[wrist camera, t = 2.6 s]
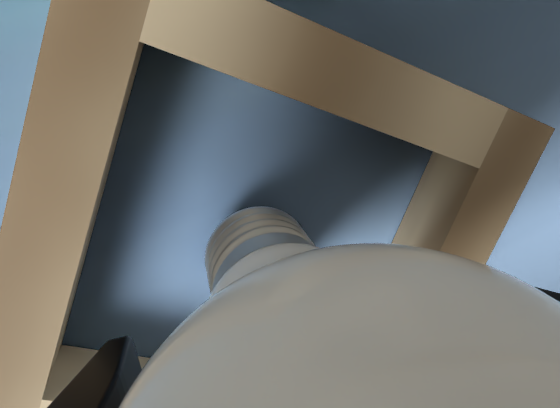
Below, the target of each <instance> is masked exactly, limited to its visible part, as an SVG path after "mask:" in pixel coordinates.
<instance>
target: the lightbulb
mask: <svg viewBox="0 0 560 408" xmlns="http://www.w3.org/2000/svg"><path fill="white" fill-rule="evenodd" d="M205 267H206V272H207V277H208V281H209V288H210V293H211V295H210V297H209V299H208V300H207V301H205V302H204V303H203V304H201V305H200V306H199V307H198V308H197V309H196V310H194V311H193V312H192V313H191V314H190V315H189V316H188V317H187V318H186V319H185V320H184V321H183V322H182V323H180V325H179V326H178V327H177V328H176V329H175V330H174V331H173V332H172V333H171V334H170V335H169V336H168V337H167V338H166V340H165V341H164V342H163V343H162V344H161V345H160V346H159V348H158V349H157V350H156V351H155V353H154V354H153V355H152V356H151V358H150V359H149V360H148V362H147V363H146V364H145V366H144V367H143V368H142V370H141V371H140V373H139V374H138V376H137V377H136V379H135V380H134V382H133V383H132V385H131V386H130V388H129V390H128V391H127V393H126V395H125V396H124V398H123V400H122V401H121V403H120V405H119V407H118V408H560V302H559V301H557V300H556V299H554V298H552V297H551V296H549V295H547V294H546V293H544V292H542V291H540V290H539V289H537V288H535V287H533V286H531V285H530V284H528V283H526V282H524V281H522V280H520V279H518V278H516V277H513V276H511V275H509V274H507V273H505V272H503V271H500V270H498V269H495V268H493V267H490V266H488V265H485V264H483V263H480V262H477V261H474V260H471V259H468V258H465V257H462V256H459V255H455V254H451V253H447V252H443V251H439V250H434V249H429V248H424V247H418V246H411V245H402V244H389V243H356V244H344V245H335V246H328V247H323V248H319V247H316V246H315V245H314V243H313V242H312V241H311V240H310V238H309V237H308V235H307V234H306V233H305V231H304V230H303V229H302V228H301V226H300V225H299V223H298V222H297V221H296V220H295V219H294V218H293V217H292V216H290V215H289V214H287V213H286V212H284V211H281V210H279V209H276V208H272V207H265V206H256V207H249V208H245V209H242V210H239V211H237V212H235V213H233V214H231V215H230V216H228V217H227V218H226V219H224V220H223V221H222V222H221V223H220V224H219V225H218V226H217V227H216V229H215V230H214V231H213V233H212V235H211V236H210V238H209V241H208V243H207V246H206V251H205Z"/></svg>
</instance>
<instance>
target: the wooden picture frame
mask: <svg viewBox="0 0 560 408" xmlns="http://www.w3.org/2000/svg"><path fill="white" fill-rule="evenodd" d="M144 43H145V44H147V45H150V46H153V47H155V48H158V49H161V50H163V51H166V52H169V53H171V54H174V55H177V56H179V57H182V58H185V59H187V60H190V61H193V62H195V63H198V64H201V65H203V66H206V67H209V68H212V69H214V70H217V71H220V72H222V73H225V74H228V75H230V76H233V77H236V78H238V79H241V80H244V81H246V82H249V83H252V84H254V85H257V86H260V87H262V88H265V89H268V90H270V91H273V92H276V93H278V94H281V95H284V96H286V97H289V98H292V99H294V100H297V101H300V102H303V103H305V104H308V105H311V106H313V107H316V108H319V109H321V110H324V111H327V112H329V113H332V114H335V115H337V116H340V117H343V118H345V119H348V120H351V121H353V122H356V123H359V124H361V125H364V126H367V127H369V128H372V129H375V130H377V131H380V132H383V133H385V134H388V135H391V136H393V137H396V138H399V139H402V140H404V141H407V142H410V143H412V144H415V145H418V146H420V147H423V148H426V149H428V150H431V151H433V153H432V155H431V157H430V159H429V162H428V164H427V166H426V168H425V170H424V173H423V175H422V177H421V179H420V181H419V184H418V186H417V188H416V190H415V193H414V195H413V197H412V199H411V201H410V204H409V206H408V208H407V210H406V212H405V215H404V217H403V219H402V221H401V224H400V226H399V228H398V230H397V232H396V235H395V237H394V239H393V241H392V243H391V244H402V245H411V246H418V247H424V248H429V249H434V250H439V251H443V252H447V253H451V254H455V255H459V256H462V257H465V258H468V259H471V260H474V261H477V262H480V263H483V264H486V262H487V260H488V258H489V256H490V254H491V252H492V250H493V249H494V247H495V245H496V243H497V241H498V239H499V237H500V235H501V233H502V231H503V229H504V227H505V225H506V223H507V221H508V219H509V217H510V215H511V213H512V212H513V210H514V208H515V206H516V204H517V202H518V200H519V198H520V196H521V194H522V192H523V190H524V188H525V186H526V184H527V182H528V180H529V178H530V176H531V174H532V173H533V171H534V169H535V167H536V165H537V163H538V161H539V159H540V157H541V155H542V153H543V151H544V149H545V147H546V145H547V143H548V141H549V139H550V137H551V136H552V134H553V132H554V130H555V128H553V127H550V126H548V125H546V124H544V123H541V122H539V121H537V120H534V119H532V118H530V117H528V116H525V115H523V114H521V113H519V112H516V111H514V110H512V109H510V108H507V107H505V106H503V105H501V104H498V103H496V102H494V101H492V100H489V99H487V98H485V97H482V96H480V95H478V94H476V93H473V92H471V91H469V90H467V89H464V88H462V87H460V86H458V85H455V84H453V83H451V82H449V81H446V80H444V79H442V78H440V77H437V76H435V75H433V74H431V73H428V72H426V71H424V70H421V69H419V68H417V67H415V66H412V65H410V64H408V63H406V62H403V61H401V60H399V59H397V58H394V57H392V56H390V55H388V54H385V53H383V52H381V51H379V50H376V49H374V48H372V47H370V46H367V45H365V44H363V43H360V42H358V41H356V40H354V39H351V38H349V37H347V36H345V35H342V34H340V33H338V32H336V31H333V30H331V29H329V28H327V27H324V26H322V25H320V24H318V23H315V22H313V21H311V20H308V19H306V18H304V17H302V16H299V15H297V14H295V13H293V12H290V11H288V10H286V9H284V8H281V7H279V6H277V5H275V4H272V3H270V2H268V1H266V0H51V3H50V8H49V13H48V17H47V22H46V26H45V31H44V35H43V40H42V44H41V49H40V53H39V58H38V62H37V67H36V72H35V76H34V81H33V85H32V90H31V94H30V99H29V103H28V108H27V112H26V117H25V121H24V126H23V131H22V135H21V140H20V144H19V149H18V153H17V158H16V162H15V167H14V171H13V176H12V180H11V185H10V190H9V194H8V199H7V203H6V208H5V212H4V217H3V221H2V226H1V230H0V408H47V407H48V406H49V405H50V404H51V402H52V401H53V400H54V399H55V398H56V397H57V396H58V395H59V394H60V393H61V391H62V390H63V389H64V388H65V387H66V386H67V385H68V384H69V383H70V381H71V380H72V379H73V378H74V377H75V376H76V375H77V374H78V373H79V372H80V370H81V369H82V368H83V367H84V366H85V365H86V364H87V363H88V362H89V361H90V359H91V358H92V357H93V356H94V355H95V354H96V353H97V352H98V351H99V350H94V349H87V348H80V347H74V346H67V345H61V344H62V341H63V337H64V333H65V330H66V326H67V322H68V319H69V315H70V311H71V308H72V304H73V301H74V297H75V293H76V290H77V286H78V282H79V279H80V275H81V271H82V268H83V264H84V260H85V257H86V253H87V249H88V246H89V242H90V239H91V235H92V231H93V228H94V224H95V220H96V217H97V213H98V209H99V206H100V202H101V198H102V195H103V191H104V187H105V184H106V180H107V177H108V173H109V169H110V166H111V162H112V158H113V155H114V151H115V147H116V144H117V140H118V136H119V133H120V129H121V125H122V122H123V118H124V114H125V111H126V107H127V104H128V100H129V96H130V93H131V89H132V85H133V82H134V78H135V74H136V71H137V67H138V63H139V60H140V56H141V52H142V49H143V45H144ZM138 359H139V362H140V365H141V369H142V368H143V367H144V366H145V364H146V363H147V362H148V360H149V359H150V358H147V357H140V356H138Z"/></svg>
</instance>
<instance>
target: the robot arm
mask: <svg viewBox="0 0 560 408" xmlns="http://www.w3.org/2000/svg"><path fill="white" fill-rule="evenodd" d="M535 288H537V287H535ZM537 289H539V290H540V291H542V292H544V293H546V294H547V295H549V296H551V297H552V298H554V299H556V300H557V301H559V302H560V293H556V292H552V291H548V290H545V289H541V288H537ZM141 370H142V369H141V365H140V362H139V359H138V355H137V352H136V349H135V345H134V342H133V340H132V338H131V337H130V336H124V337H119V338H115V339H111V340H108V341H107V342H106V343H105V344H104V345H103V346H102V347H101V348H100V349H99V351H98V352H97V353H96V354H95V355H94V356H93V357H92V358H91V359H90V361H89V362H88V363H87V364H86V365H85V366H84V367H83V368H82V369H81V370H80V372H79V373H78V374H77V375H76V376H75V377H74V378H73V379H72V380H71V381H70V383H69V384H68V385H67V386H66V387H65V388H64V389H63V390H62V391H61V393H60V394H59V395H58V396H57V397H56V398H55V399H54V400H53V401H52V402H51V404H50V405H49V406H48V407H47V408H118V407H119V405H120V403H121V401H122V400H123V398H124V396H125V395H126V393H127V391H128V390H129V388H130V386H131V385H132V383H133V382H134V380H135V379H136V377H137V376H138V374H139V373H140V371H141Z"/></svg>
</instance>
